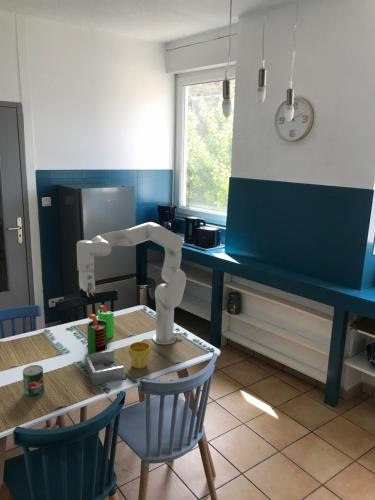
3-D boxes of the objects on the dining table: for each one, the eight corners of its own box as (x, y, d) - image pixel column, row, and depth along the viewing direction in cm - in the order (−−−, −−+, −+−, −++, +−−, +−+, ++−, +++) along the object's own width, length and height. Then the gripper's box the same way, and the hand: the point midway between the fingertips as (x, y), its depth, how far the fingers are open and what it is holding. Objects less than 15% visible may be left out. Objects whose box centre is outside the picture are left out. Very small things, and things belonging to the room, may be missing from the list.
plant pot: (151, 370, 190) (151, 351, 188) (129, 371, 188) (128, 352, 186) (149, 359, 200) (149, 340, 198) (128, 360, 198) (128, 341, 196)
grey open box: (113, 360, 197) (113, 349, 196) (123, 378, 182) (123, 366, 181) (85, 366, 192) (85, 354, 190) (93, 385, 177) (93, 373, 175)
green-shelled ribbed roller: (117, 334, 225) (116, 304, 220) (107, 340, 218) (106, 309, 214) (105, 330, 229) (104, 300, 225) (94, 335, 223) (93, 305, 218)
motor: (101, 358, 199) (100, 320, 194) (84, 355, 201) (82, 318, 196) (109, 348, 209) (108, 312, 204) (92, 346, 211) (91, 310, 206)
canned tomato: (32, 386, 174) (31, 363, 172) (48, 389, 172) (46, 366, 170) (20, 396, 167) (18, 373, 164) (36, 400, 165) (34, 376, 162)
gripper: (100, 270, 185) (101, 305, 189) (87, 261, 199) (88, 293, 203) (84, 272, 181) (85, 308, 185) (72, 263, 195) (73, 296, 199)
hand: (87, 300), depth 194 cm, fingers open, 9 cm apart
